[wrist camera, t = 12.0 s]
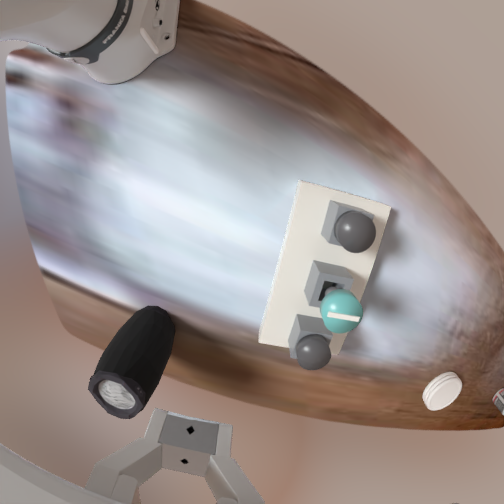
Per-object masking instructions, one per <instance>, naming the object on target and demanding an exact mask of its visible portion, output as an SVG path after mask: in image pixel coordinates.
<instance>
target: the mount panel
mask: <svg viewBox="0 0 504 504" xmlns="http://www.w3.org/2000/svg"><path fill="white" fill-rule="evenodd" d="M390 210H391V206H388V205H386V204H383V203H380V202H377V201H374V200H370V199H367V198H364V197H360V196H357V195H353V194H350V193H346V192H343V191H339V190H336V189H332V188H328V187H325V186H321V185H317V184H313V183H310V182H306V181H302V180H298V185H297V189H296V193H295V197H294V201H293V205H292V209H291V213H290V217H289V221H288V225H287V229H286V233H285V236H284V240H283V244H282V248H281V252H280V256H279V260H278V263H277V267H276V271H275V275H274V278H273V282H272V286H271V290H270V293H269V297H268V301H267V304H266V308H265V312H264V315H263V319H262V322H261V326H260V330H259V343H264V344H270V345H275V346H281V347H287V348H289V350H290V356H291V358H296V359H297V354H296V345H297V343H298V341H299V340H300V339H301V338H303V337H304V336H306V335H309V334H319V335H321V336H323V337H324V338H325V339H326V340H327V342H328V345H329V348H330V351H331V354H336V355H338V354H339V352H340V350H341V348H342V345H343V343H344V341H345V338H346V336H347V333H348V332H346V333H340V334H339V333H334V332H331V331H330V330H328V329H327V328H326V326H325V324H324V321H323V319H322V316H321V313H320V304H321V302H322V300H323V298H324V297H325V291H326V289H327V288H329V287H336V288H337V289H346V290H349V291H351V292H352V293H353V294H354V295H355V297H356V298H357V300H358V301H359V303H360V301H361V298H362V295H363V293H364V290H365V287H366V284H367V282H368V279H369V276H370V273H371V270H372V267H373V264H374V261H375V259H376V255H377V252H378V249H379V246H380V243H381V240H382V237H383V233H384V230H385V227H386V224H387V220H388V217H389V213H390ZM347 211H358V212H360V213H362V214H364V215H366V216H367V217H369V218H370V219H371V220H372V221H373V223H374V225H375V228H376V237H375V240H374V242H373V244H372V245H371V246H370V248H368V249H367V250H366V251H364V252H361V253H351V252H349V251H347V250H346V249H344V248H343V246H342V245H341V244H340V243H339V242H338V241H337V239H336V237H335V234H334V226H335V223H336V221H337V219H338V218H339V216H341V215H342V214H343V213H345V212H347Z"/></svg>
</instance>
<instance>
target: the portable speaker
mask: <svg viewBox="0 0 504 504" xmlns="http://www.w3.org/2000/svg"><path fill="white" fill-rule="evenodd" d="M174 335H175V328H174V325H173V323H172V321H171V320H170V318H169V316H168V314H167V312H166V311H165V310H163V309H161V308H159V307H157V306H147V307H145V308H143V309H141V310H139V311H137V312H136V313H135V314H134V315H133V316H132V317H131V318H130V319H129V320H128V321H127V322H126V323H125V324H124V325H123V326H122V327H121V328H120V329H119V331H118V332H117V333H116V335H115V336H114V338H113V339H112V341H111V342H110V343H109V345H108V346H107V348H106V349H105V351H104V352H103V354H102V357H101V358H100V360H99V363H98V365H97V367H96V370H95V373H94V375H93V376H91V378H90V382H89V387H88V390H89V391H90V392H91V394H92V395H93V396H94V398H95V399H96V401H97V402H98V403H99V404H100V405H101V406H102V407H103V408H104V409H105V410H106V411H107V413H109V414H111V415H113V416H116V417H118V418H123V419H130V418H133V417H135V416H136V415H137V414H138V413H139V412H140V411H142V410H143V409H144V407H145V406H146V404H147V402H148V401H149V399H150V397H151V395H152V394H153V392H154V390H155V389H156V387H157V385H158V384H159V381H160V379H161V376H162V374H163V371H164V369H165V366H166V364H167V362H168V359H169V357H170V354H171V351H172V345H173V340H174Z"/></svg>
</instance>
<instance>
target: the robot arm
mask: <svg viewBox="0 0 504 504" xmlns="http://www.w3.org/2000/svg"><path fill="white" fill-rule="evenodd" d="M179 5H180V0H0V41H7V40H21V41H26V42H30V43H33V44H37V45H40V46H43V47H46V48H47V49H48V50H49V52H51V53H52V54H55V55H57V56H59V57H61V58H63V59H64V60H66V61H69V62H71V63H75V64H80V65H81V66H82V67H83V68H84V69H85V70H86V71H87V72H88V74H89V75H90V76H91V77H92V78H93V79H94V80H96V81H98V82H101V83H105V84H116V83H121V82H124V81H127V80H129V79H131V78H133V77H135V76H137V75H138V74H140V73H141V72H142V71H143V70H145V69H146V68H147V67H148V66H149V65H150V64H151V63H152V62H153V61H154V60H155V59H156V58H158V57H160V56H162V55H164V54H166V53H168V52H170V51H171V50H173V49H174V47H175V43H176V33H177V23H178V14H179ZM167 37H169V39H168V40H165V39H166V38H167ZM232 431H233V426H232V425H230V424H224V423H219V422H214V421H209V420H204V419H198V418H192V417H188V416H184V415H180V414H176V413H173V412H169V411H165V410H162V409H158V408H155V409H154V411H153V413H152V416H151V419H150V421H149V424H148V427H147V430H146V433H145V436H144V438H138V439H136V440H135V441H133V442H131V443H130V444H128V445H126V446H125V447H123V448H121V449H120V450H118V451H116V452H114V453H113V454H111V455H110V456H107V457H106V458H104V459H102V460H100V461H98V462H97V463H95V466H94V468H93V470H92V473H91V475H90V477H89V479H88V482H87V484H86V486H85V488H82V487H80V486H78V485H75V484H73V483H71V482H69V481H67V480H64V479H62V478H60V477H58V476H56V475H54V474H52V473H50V472H48V471H46V470H44V469H42V468H41V467H39V466H37V465H35V464H33V463H32V462H30V461H28V460H26V459H25V458H23V457H21V456H20V455H18V454H16V453H14V452H13V451H11V450H10V449H8V448H6V447H5V446H4V445H2V444H1V443H0V504H141V501H140V494H139V486H140V485H142V484H143V483H144V482H145V481H147V480H148V479H149V478H151V477H152V476H153V475H154V474H155V473H157V472H158V471H159V470H160V469H161V468H165V469H170V470H174V471H180V472H184V473H188V474H193V475H197V476H202V477H205V480H206V482H207V483H208V485H209V487H210V489H211V491H212V493H213V495H214V497H215V499H216V501H217V503H216V504H265V501H264V500H263V498H262V497H261V496H260V494H259V493H258V492H257V490H256V489H255V487H254V486H253V485H252V483H251V482H250V481H249V479H248V478H247V476H246V475H245V474H244V472H243V471H242V469H241V468H240V466H239V465H238V463H237V462H236V461H235V459H233V458H230V456H231V443H232ZM453 504H458V503H453Z"/></svg>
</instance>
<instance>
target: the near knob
mask: <svg viewBox="0 0 504 504" xmlns="http://www.w3.org/2000/svg"><path fill="white" fill-rule="evenodd" d="M334 234H335V237H336V239H337V241H338V242H339V243H340V244H341V245H342V246H343V248H344V249H346V250H347V251H349V252H351V253H361V252H364V251H366V250H367V249H368V248H370V246H371V245H372V244H373V242H374V240H375V237H376V228H375V225H374V223H373V221H372V220H371V219H370V218H369V217H367V216H366V215H364V214H362V213H360V212H358V211H347V212H345V213H343V214H342V215H341V216H339V218H338V219H337V221H336V223H335V226H334Z"/></svg>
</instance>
